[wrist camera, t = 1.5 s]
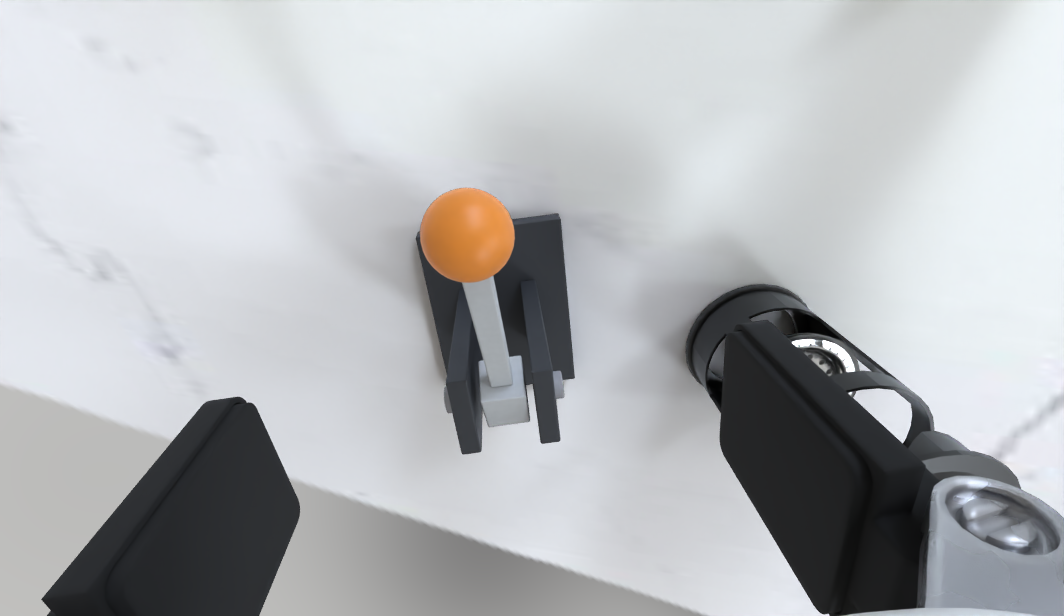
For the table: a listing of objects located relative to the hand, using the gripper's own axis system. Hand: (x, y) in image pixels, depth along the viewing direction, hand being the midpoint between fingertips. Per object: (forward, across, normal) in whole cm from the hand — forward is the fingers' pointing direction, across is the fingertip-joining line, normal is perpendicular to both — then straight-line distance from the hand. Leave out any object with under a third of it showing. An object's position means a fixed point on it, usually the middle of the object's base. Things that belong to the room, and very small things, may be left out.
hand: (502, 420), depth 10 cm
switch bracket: (+23, +1, +9) cm, 25 cm away
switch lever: (+12, +1, +3) cm, 13 cm away
